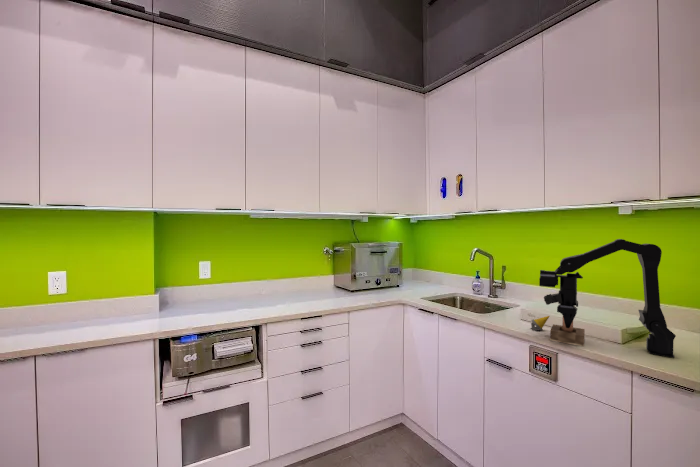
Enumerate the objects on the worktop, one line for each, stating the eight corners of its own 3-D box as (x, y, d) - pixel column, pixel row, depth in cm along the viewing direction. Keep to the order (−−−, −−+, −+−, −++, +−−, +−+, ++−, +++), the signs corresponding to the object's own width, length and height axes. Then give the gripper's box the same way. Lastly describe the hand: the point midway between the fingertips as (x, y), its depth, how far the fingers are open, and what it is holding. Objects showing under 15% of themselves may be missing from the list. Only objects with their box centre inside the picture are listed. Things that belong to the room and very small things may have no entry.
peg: (573, 332, 133) (573, 310, 133) (572, 334, 130) (573, 312, 130) (562, 330, 135) (563, 309, 135) (562, 333, 133) (562, 311, 132)
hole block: (584, 338, 134) (584, 329, 134) (583, 346, 125) (583, 336, 125) (553, 333, 141) (553, 324, 141) (550, 340, 132) (550, 330, 132)
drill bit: (531, 328, 150) (549, 314, 147) (537, 336, 145) (556, 323, 142) (524, 322, 149) (542, 308, 146) (530, 330, 144) (549, 316, 141)
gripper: (547, 283, 145) (547, 318, 145) (542, 289, 130) (542, 328, 130) (578, 286, 138) (578, 322, 138) (576, 292, 123) (576, 334, 124)
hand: (567, 326), depth 133 cm, fingers closed on peg, 4 cm apart
